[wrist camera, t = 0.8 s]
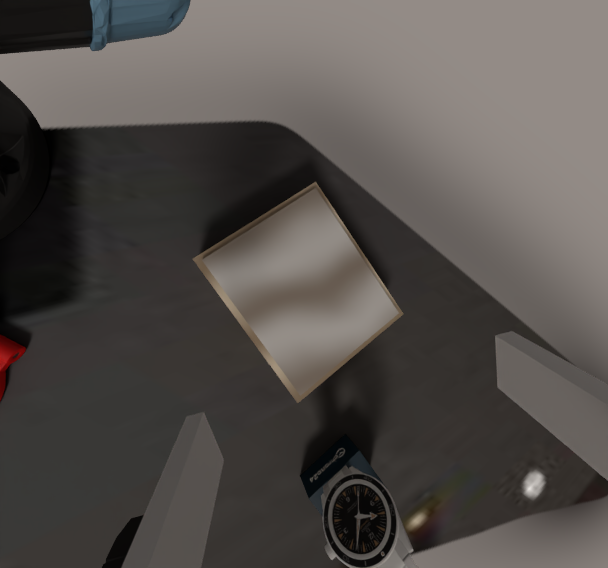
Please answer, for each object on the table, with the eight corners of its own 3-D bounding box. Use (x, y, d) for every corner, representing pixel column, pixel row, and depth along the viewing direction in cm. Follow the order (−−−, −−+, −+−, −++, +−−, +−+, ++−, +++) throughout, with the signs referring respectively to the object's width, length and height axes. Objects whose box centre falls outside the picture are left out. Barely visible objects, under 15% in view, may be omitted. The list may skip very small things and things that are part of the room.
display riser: (198, 264, 25) (191, 258, 21) (305, 196, 28) (317, 179, 24) (289, 389, 26) (298, 404, 22) (383, 312, 29) (406, 314, 25)
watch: (333, 418, 27) (399, 492, 17) (379, 481, 28) (470, 592, 17) (287, 460, 26) (324, 570, 15) (336, 525, 27) (405, 675, 16)
